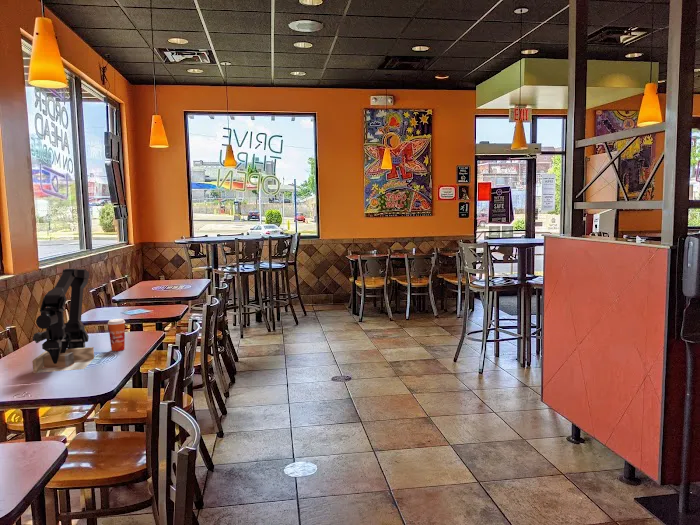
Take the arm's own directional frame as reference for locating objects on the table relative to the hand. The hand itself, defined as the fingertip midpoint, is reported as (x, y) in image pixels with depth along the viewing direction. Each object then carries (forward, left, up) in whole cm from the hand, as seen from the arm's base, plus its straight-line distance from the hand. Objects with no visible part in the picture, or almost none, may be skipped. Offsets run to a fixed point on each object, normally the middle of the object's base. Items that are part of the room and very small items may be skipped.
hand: (58, 360), depth 222 cm
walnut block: (0, 0, -2) cm, 2 cm away
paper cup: (-19, -23, -3) cm, 30 cm away
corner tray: (-3, +1, -3) cm, 4 cm away
